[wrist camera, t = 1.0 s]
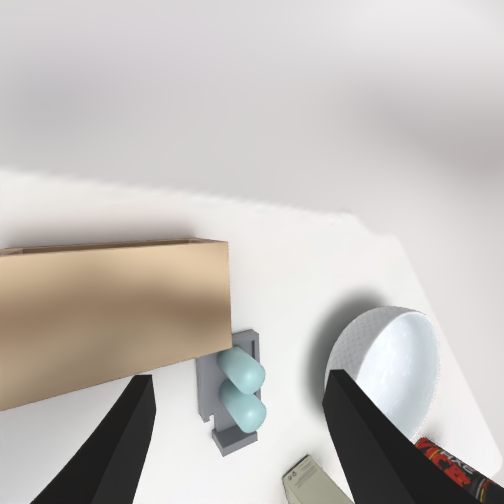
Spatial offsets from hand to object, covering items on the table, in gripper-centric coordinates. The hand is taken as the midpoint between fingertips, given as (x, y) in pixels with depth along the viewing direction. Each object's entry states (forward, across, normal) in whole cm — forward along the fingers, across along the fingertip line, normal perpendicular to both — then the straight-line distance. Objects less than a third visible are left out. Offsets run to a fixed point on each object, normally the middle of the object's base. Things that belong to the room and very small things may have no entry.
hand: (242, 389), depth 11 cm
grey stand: (+12, 0, +14) cm, 18 cm away
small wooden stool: (+12, +9, +2) cm, 15 cm away
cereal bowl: (+19, -16, +18) cm, 30 cm away
